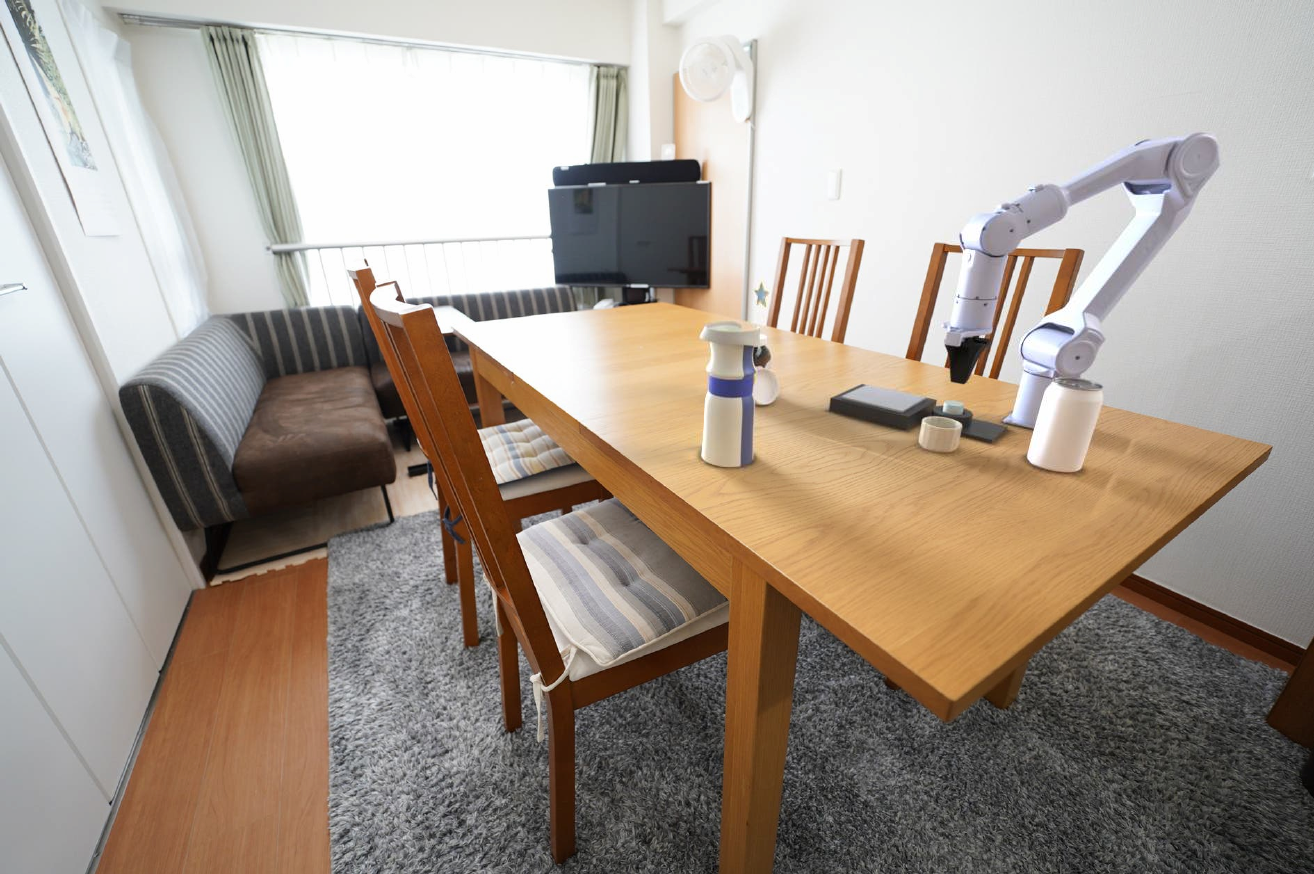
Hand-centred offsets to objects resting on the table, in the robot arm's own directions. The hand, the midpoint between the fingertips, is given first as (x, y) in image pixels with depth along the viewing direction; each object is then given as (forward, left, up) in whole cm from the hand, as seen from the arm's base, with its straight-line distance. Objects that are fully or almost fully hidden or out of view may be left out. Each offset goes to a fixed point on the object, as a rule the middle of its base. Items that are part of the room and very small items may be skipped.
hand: (958, 382), depth 89 cm
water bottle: (+19, +36, -8) cm, 41 cm away
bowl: (-2, +11, -8) cm, 13 cm away
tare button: (0, 0, -5) cm, 5 cm away
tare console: (-3, 0, -8) cm, 8 cm away
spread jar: (+33, +11, -8) cm, 36 cm away
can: (-16, +6, -8) cm, 19 cm away
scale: (+11, +2, -8) cm, 13 cm away
